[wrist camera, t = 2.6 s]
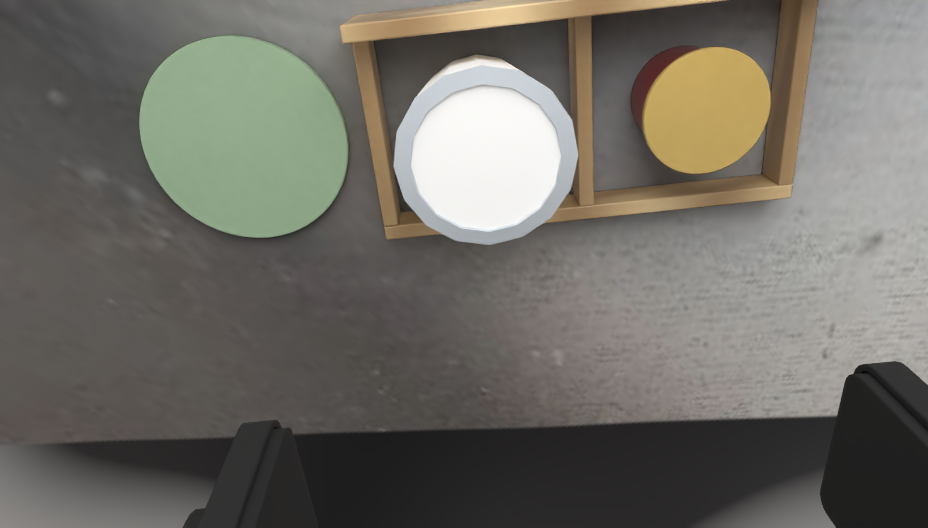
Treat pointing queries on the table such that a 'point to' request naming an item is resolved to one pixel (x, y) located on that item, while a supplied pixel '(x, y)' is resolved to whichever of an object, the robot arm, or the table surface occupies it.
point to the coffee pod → (701, 106)
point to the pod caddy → (588, 104)
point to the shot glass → (485, 152)
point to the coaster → (244, 136)
